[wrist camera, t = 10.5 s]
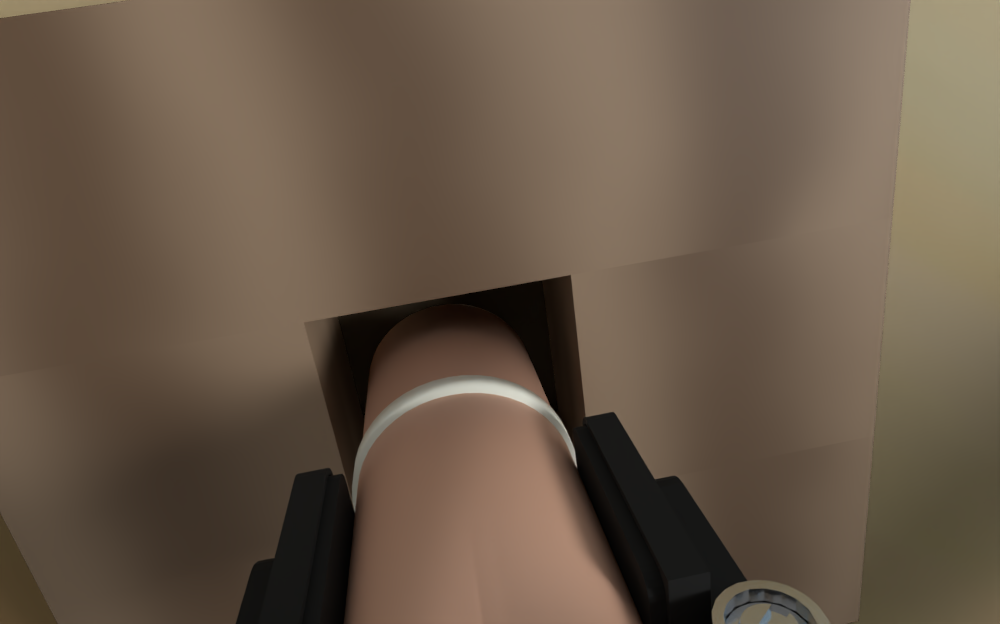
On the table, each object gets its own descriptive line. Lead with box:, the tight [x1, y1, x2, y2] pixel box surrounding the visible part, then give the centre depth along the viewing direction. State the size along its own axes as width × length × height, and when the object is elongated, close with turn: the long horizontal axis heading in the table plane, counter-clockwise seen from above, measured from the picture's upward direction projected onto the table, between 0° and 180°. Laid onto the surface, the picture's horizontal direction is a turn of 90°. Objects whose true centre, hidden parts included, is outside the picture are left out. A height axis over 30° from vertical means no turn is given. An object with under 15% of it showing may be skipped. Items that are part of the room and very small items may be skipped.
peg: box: [344, 304, 643, 624], centre depth 10 cm, size 4×4×14 cm
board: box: [0, 0, 911, 624], centre depth 17 cm, size 20×18×4 cm
